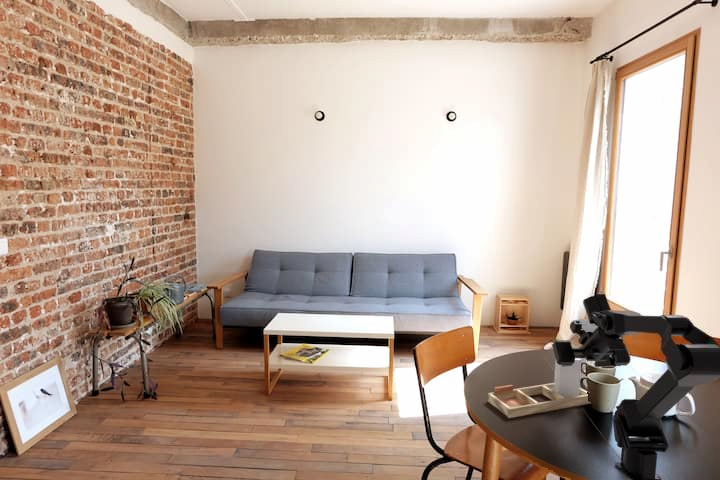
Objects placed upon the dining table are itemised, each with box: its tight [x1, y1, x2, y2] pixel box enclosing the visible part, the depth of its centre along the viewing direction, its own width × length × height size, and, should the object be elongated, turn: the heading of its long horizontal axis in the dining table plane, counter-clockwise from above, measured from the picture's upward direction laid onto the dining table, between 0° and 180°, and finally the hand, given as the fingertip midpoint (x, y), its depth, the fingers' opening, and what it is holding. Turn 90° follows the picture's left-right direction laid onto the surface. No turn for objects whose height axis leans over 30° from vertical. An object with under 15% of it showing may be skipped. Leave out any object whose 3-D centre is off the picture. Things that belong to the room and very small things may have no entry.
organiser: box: [487, 382, 592, 419], centre depth 131 cm, size 10×29×4 cm, turn 108°
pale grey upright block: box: [553, 359, 582, 398], centre depth 134 cm, size 4×6×12 cm, turn 89°
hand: (578, 365), depth 126 cm, fingers open, 9 cm apart
